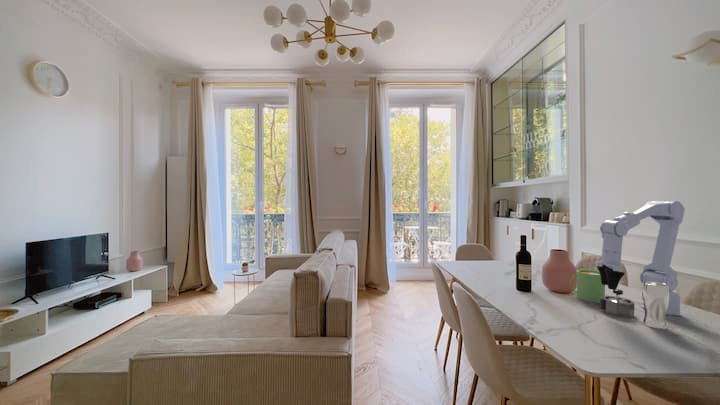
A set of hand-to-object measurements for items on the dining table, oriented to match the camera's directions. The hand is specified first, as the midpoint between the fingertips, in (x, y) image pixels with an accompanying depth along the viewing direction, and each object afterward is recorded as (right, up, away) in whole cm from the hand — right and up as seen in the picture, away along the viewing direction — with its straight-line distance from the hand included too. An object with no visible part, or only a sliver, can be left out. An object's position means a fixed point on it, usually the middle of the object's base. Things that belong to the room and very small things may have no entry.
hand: (608, 286), depth 118 cm
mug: (+7, -11, +20) cm, 24 cm away
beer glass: (+9, -12, -9) cm, 17 cm away
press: (+6, -11, +3) cm, 13 cm away
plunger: (+6, -7, +3) cm, 9 cm away
